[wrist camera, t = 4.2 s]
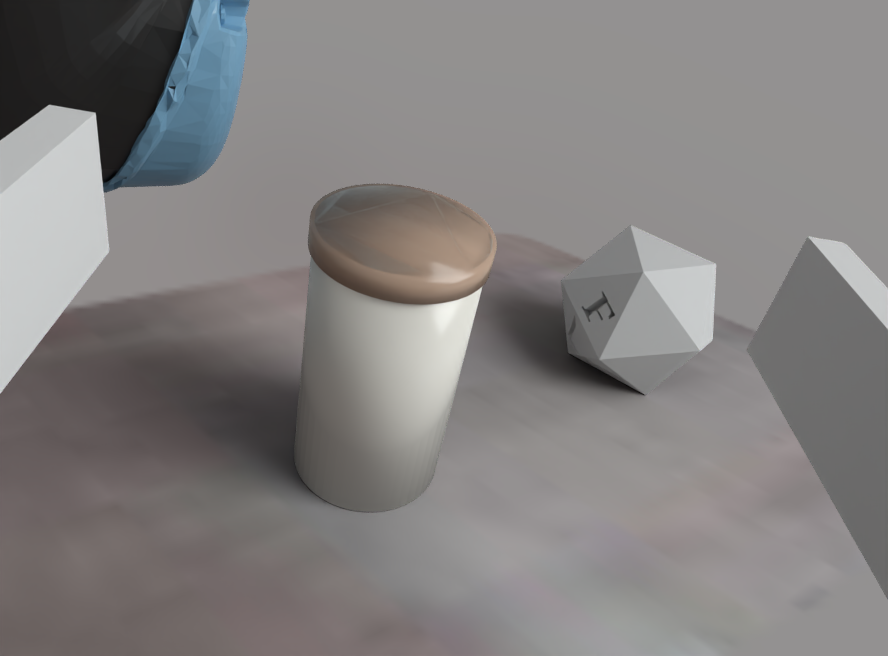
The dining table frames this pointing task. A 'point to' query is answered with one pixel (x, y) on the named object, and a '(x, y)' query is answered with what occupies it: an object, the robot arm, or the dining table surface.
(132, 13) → the robot arm
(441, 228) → the jar
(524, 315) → the dining table surface
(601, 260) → the die
